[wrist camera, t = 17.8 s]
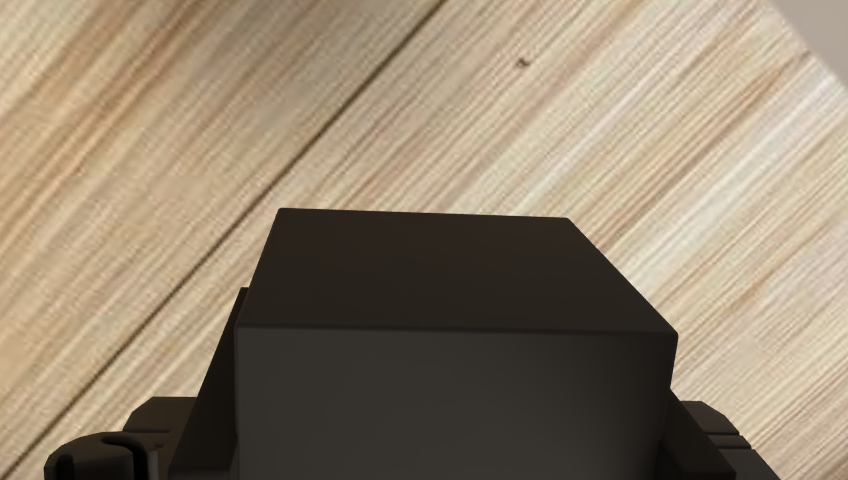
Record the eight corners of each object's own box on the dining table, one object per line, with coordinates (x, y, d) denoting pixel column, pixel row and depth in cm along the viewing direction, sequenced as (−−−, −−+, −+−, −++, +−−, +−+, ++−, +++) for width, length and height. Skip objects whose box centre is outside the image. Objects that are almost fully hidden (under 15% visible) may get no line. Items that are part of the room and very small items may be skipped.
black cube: (569, 217, 16) (681, 333, 11) (540, 467, 18) (624, 682, 12) (277, 206, 16) (232, 324, 10) (277, 466, 18) (237, 691, 12)
